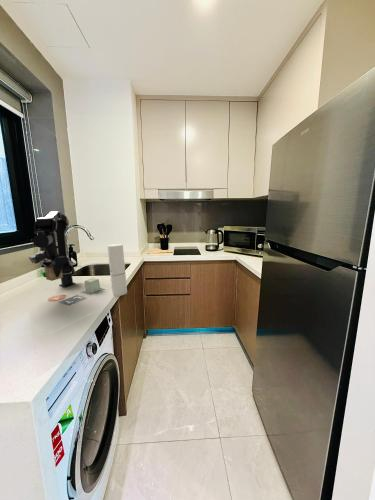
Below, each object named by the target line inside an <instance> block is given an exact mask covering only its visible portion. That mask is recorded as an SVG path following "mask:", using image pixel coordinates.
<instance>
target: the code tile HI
mask: <svg viewBox="0 0 375 500" xmlns="http://www.w3.org/2000/svg"><path fill="white" fill-rule="evenodd" d="M105 290H106V289H105V288H101V287H100V290H99V291H96V292H94V293H89V292H86V289H85V290H83V291H80V293H81V294H85V295H89V296H92V295H94V294H98V293H100V292H103V291H105Z"/></svg>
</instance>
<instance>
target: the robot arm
mask: <svg viewBox="0 0 375 500" xmlns="http://www.w3.org/2000/svg"><path fill="white" fill-rule="evenodd" d="M69 226H70V222H69V219H68V217H67V215H65V214H63V213H62V212H61V211H60V210H58V211H57V210H56V211H55V210H52V211H49V213H48V214H47V215H46V216H41V217H37V218H36V219H35V221H34V226H33V234H36V235H35V236H34V237H33V239H32V244H33V245H34V247H36V248H39V251H36V252H34V253H33V254H31V255H29V256H28V259H29V261H30V262H31V263H32V264H41V265H42V266H44V267H48V266H52V267H53V269H54V272H55V275H56V277H59V275H60V272H61V270H62V275H63V278H60V284H59V285H58V286H60V287H62V288H67V287H70V286H74V285H75V284H76V282H74V280H73V276H74V275H75V274H76V269H75V267H74V266H73V264H72V261H71V260H70V259H69V256H68V247H67V235H66V233H67V232H68V230H69Z"/></svg>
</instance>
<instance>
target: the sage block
mask: <svg viewBox="0 0 375 500" xmlns="http://www.w3.org/2000/svg"><path fill="white" fill-rule="evenodd" d="M83 282H84V287H85V290H86V292H89V293H94V292H96V291H99V290H100V288H101V285H100V279H99V278H95V277H92V278H91V277H90V278H89V279H85V280H84V281H83Z"/></svg>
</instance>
